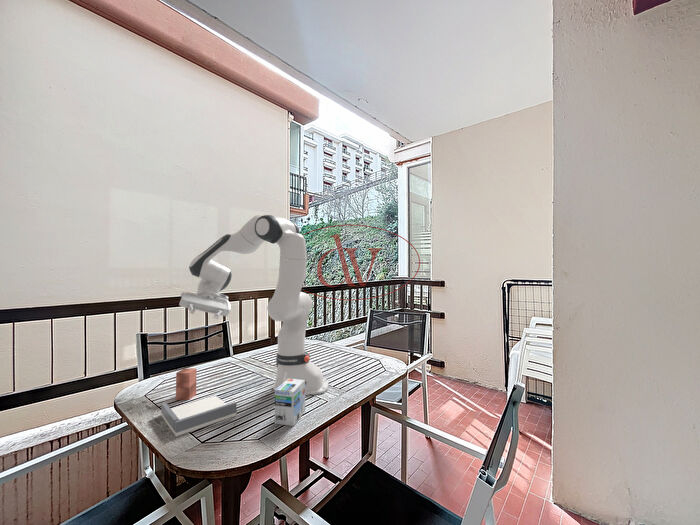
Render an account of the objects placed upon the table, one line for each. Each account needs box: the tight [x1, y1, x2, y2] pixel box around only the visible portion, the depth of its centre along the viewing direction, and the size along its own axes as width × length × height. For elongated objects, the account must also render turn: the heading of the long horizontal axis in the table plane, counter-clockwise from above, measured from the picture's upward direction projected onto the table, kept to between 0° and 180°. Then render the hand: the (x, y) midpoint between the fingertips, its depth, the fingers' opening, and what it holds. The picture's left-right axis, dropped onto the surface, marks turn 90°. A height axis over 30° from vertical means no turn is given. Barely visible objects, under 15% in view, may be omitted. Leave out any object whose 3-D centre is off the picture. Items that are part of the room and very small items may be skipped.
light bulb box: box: [274, 379, 306, 427], centre depth 98 cm, size 11×7×11 cm, turn 168°
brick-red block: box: [175, 367, 197, 401], centre depth 114 cm, size 5×5×10 cm
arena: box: [160, 395, 238, 437], centre depth 100 cm, size 18×18×4 cm
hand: (204, 314), depth 123 cm, fingers open, 8 cm apart
